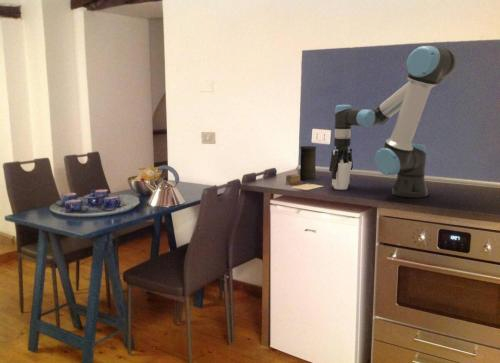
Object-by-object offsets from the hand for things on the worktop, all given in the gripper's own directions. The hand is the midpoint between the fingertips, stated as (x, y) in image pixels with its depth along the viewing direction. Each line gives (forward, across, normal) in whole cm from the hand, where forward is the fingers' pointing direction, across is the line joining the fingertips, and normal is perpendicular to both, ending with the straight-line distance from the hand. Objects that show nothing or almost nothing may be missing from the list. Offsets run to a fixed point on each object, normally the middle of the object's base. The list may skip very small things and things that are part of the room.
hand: (340, 184), depth 223 cm
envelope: (+2, +8, -14) cm, 16 cm away
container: (+2, -8, -26) cm, 27 cm away
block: (+2, +8, -23) cm, 24 cm away
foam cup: (+2, 0, 0) cm, 2 cm away
